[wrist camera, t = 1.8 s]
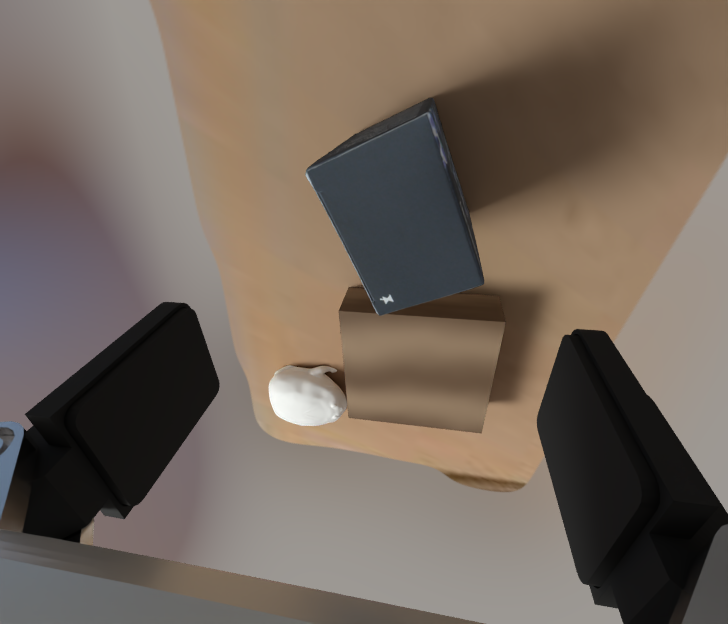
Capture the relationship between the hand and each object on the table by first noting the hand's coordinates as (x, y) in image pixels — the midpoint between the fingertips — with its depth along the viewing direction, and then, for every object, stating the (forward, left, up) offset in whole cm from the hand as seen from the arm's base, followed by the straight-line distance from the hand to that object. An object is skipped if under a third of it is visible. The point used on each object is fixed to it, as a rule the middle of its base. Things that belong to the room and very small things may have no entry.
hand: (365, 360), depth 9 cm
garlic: (+21, -10, -19) cm, 30 cm away
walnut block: (+15, +1, -19) cm, 24 cm away
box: (0, 0, -19) cm, 19 cm away
